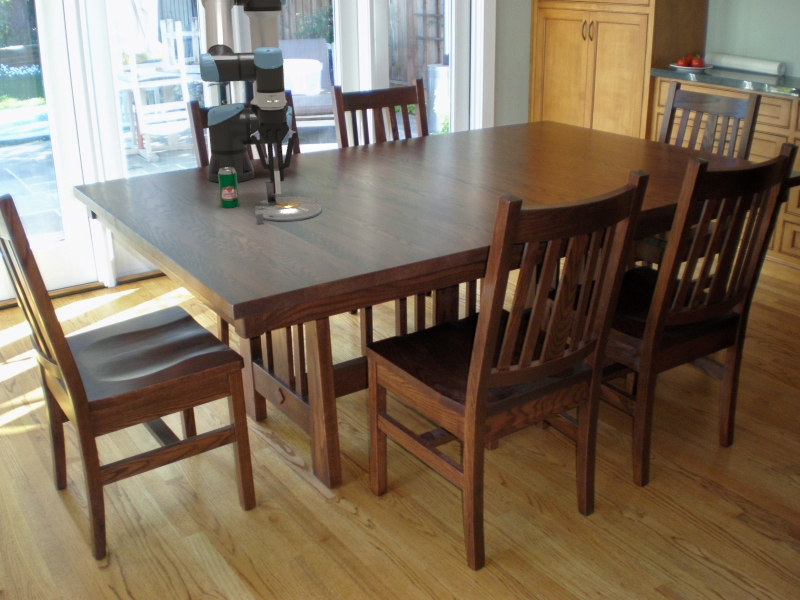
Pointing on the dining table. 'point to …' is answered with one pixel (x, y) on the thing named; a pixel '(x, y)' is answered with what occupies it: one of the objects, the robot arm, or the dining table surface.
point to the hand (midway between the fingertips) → (277, 192)
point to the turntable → (286, 206)
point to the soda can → (228, 187)
